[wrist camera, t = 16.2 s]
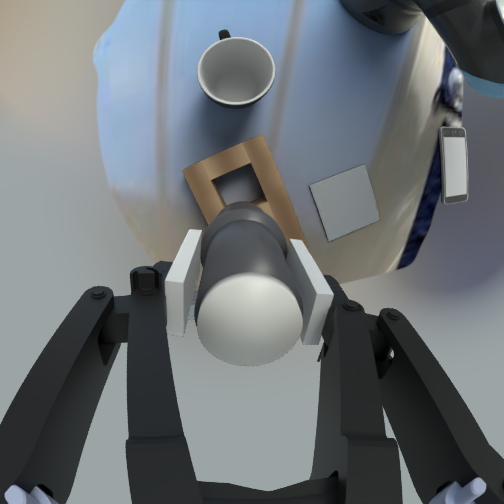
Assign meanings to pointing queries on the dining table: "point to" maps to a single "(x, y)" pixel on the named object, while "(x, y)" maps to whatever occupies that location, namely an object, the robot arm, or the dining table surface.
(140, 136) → the dining table surface
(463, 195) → the smartphone
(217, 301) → the plug
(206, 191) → the socket block
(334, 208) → the mat
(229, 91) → the mug
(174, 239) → the dining table surface
